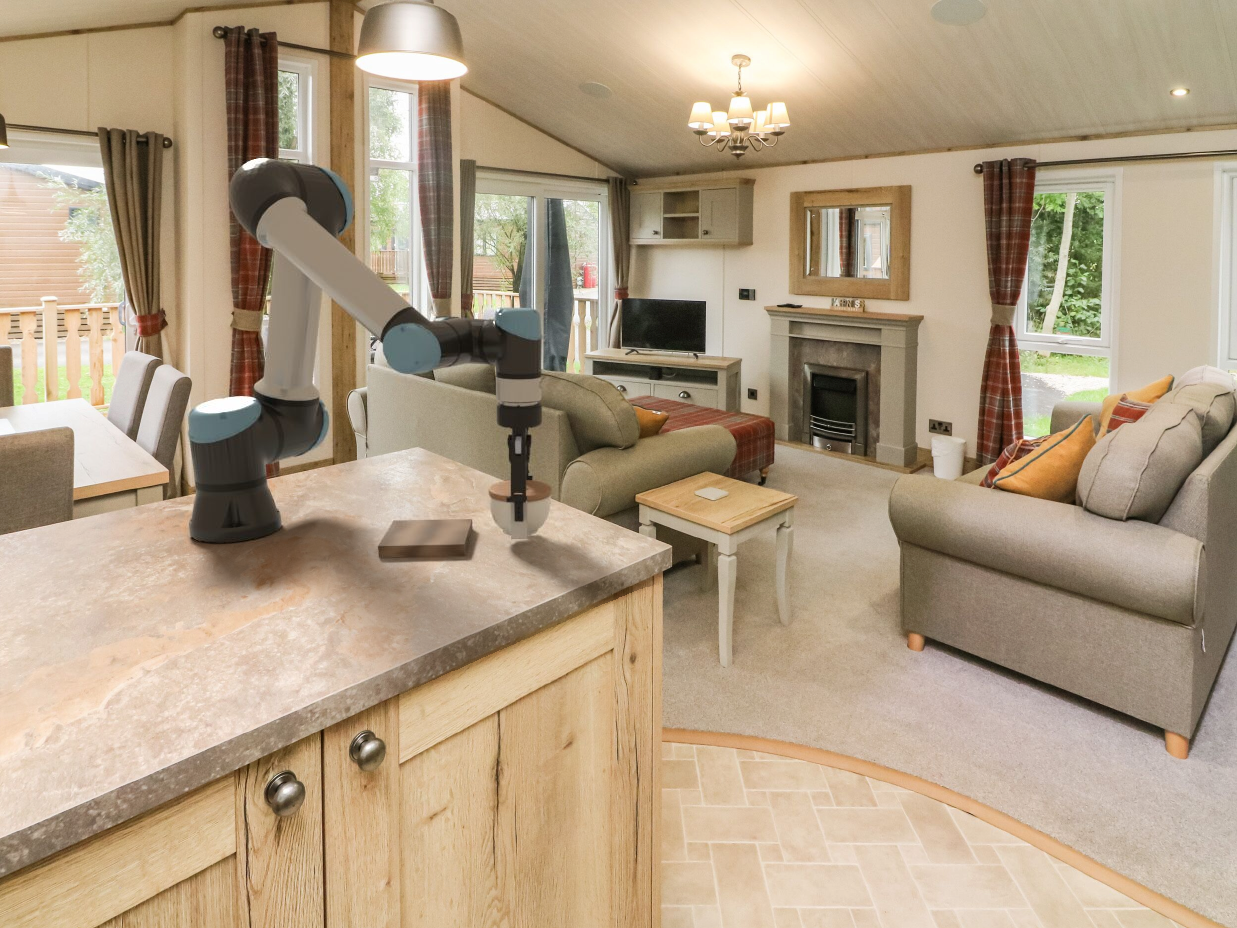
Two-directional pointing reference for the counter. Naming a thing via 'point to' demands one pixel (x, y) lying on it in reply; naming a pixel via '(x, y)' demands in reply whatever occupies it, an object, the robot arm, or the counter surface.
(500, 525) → the lidded jar
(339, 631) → the counter surface
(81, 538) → the counter surface
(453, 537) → the walnut board
